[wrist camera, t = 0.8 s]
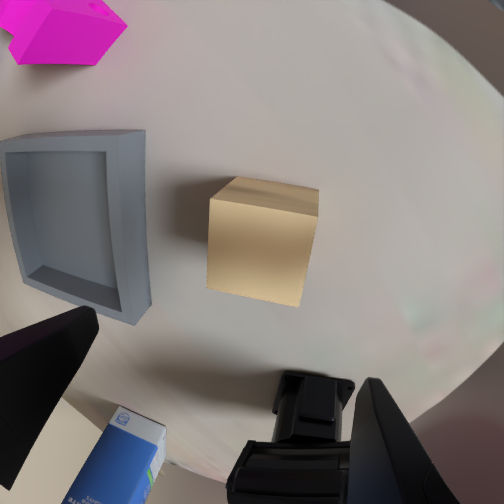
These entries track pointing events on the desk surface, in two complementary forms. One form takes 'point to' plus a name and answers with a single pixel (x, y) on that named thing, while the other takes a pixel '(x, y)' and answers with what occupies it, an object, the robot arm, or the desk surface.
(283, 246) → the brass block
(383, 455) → the robot arm
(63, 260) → the tray
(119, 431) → the string lights box
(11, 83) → the desk surface
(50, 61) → the toy block
